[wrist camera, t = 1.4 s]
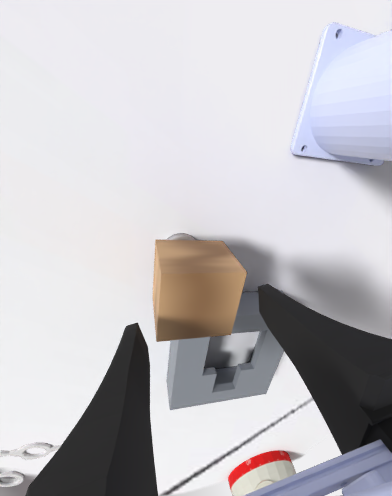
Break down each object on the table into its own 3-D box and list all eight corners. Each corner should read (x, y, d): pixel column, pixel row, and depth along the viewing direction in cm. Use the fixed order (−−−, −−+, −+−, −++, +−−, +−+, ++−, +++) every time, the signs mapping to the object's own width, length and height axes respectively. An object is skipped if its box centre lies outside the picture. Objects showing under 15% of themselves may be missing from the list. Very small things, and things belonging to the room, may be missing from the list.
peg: (210, 225, 20) (247, 272, 13) (203, 273, 22) (230, 334, 15) (153, 223, 19) (161, 274, 12) (150, 274, 21) (156, 341, 14)
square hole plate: (281, 290, 25) (300, 311, 22) (253, 368, 31) (266, 393, 28) (175, 294, 22) (181, 319, 19) (166, 380, 28) (169, 410, 25)
